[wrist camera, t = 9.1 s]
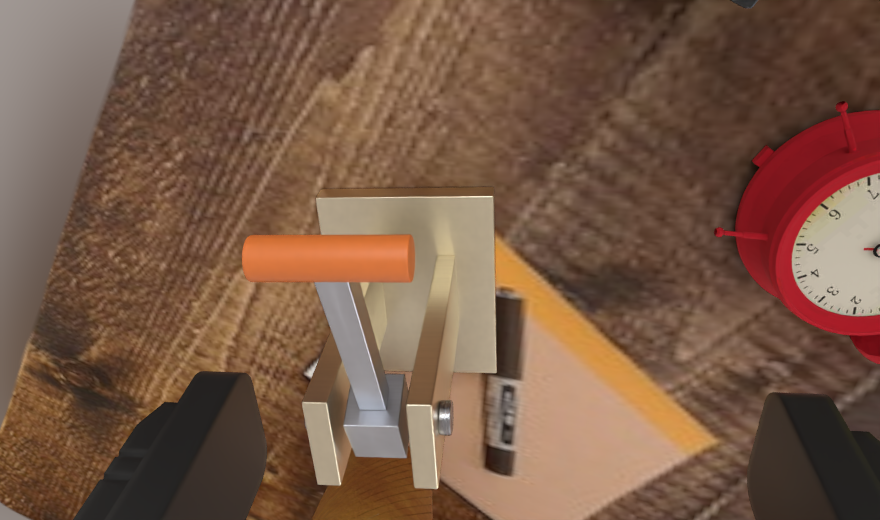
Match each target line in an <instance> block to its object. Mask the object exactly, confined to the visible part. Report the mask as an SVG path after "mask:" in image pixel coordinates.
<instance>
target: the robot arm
mask: <svg viewBox="0 0 880 520" xmlns="http://www.w3.org/2000/svg"><path fill="white" fill-rule="evenodd" d="M266 459H267V445H266V438H265V434H264V430H263V425H262V421H261V417H260V413H259V408H258V404H257V400H256V396H255V391H254V387H253V383H252V380H251V378H250V376H249V375H248V374H247V373H238V372H209V371H202V372H199V373H197V374H196V375H195V376H194V378H193V379H192V381H191V382H190V384H189V386H188V387H187V389H186V390H185V392H184V394H183V395H182V397H181V398H180V400H179V402H178V403H173V402H164V403H163V404H162V405H161V406H160V407H158V408H157V409H156V410H155V411H153V412H152V413H151V414H150V415H148V416H147V417H146V418H145V419H144V420H142V421H141V422H140V423H139V424H137V426H136V427H135V429H134V430H133V432H132V433H131V435H130V436H129V437H128V439H127V440H126V442H125V443H124V445H123V446H122V448H121V449H120V451H119V456H118V457H115V458H114V460H113V461H112V463H111V464H110V466H109V467H108V469H107V470H106V472H105V473H104V479H103V480H100V481H99V482H98V484H97V485H96V487H95V488H94V489H93V491H92V492H91V494H90V495H89V497H88V498H87V500H86V501H85V503H84V504H83V506H82V507H81V509H80V510H79V512H78V513H77V515H76V516H75V518H74V519H73V520H246V518H247V515H248V513H249V510H250V508H251V506H252V503H253V501H254V498H255V496H256V494H257V491H258V489H259V486H260V484H261V481H262V479H263V475H264V471H265V466H266ZM747 484H748V494H749V500H750V504H751V507H752V510H753V513H754V516H755V519H756V520H880V441H879V440H877V439H876V438H875V437H874V436H873V435H872V434H870V433H869V432H862V431H850V430H849V428H848V426H847V424H846V423H845V421H844V419H843V417H842V416H841V414H840V412H839V411H838V409H837V407H836V405H835V404H834V402H833V400H832V399H831V398H830V397H829V396H827V395H825V394H806V393H777V392H773V393H770V394H769V395H768V396H767V398H766V400H765V403H764V406H763V410H762V414H761V418H760V422H759V426H758V429H757V433H756V437H755V441H754V445H753V449H752V452H751V456H750V460H749V464H748V472H747Z"/></svg>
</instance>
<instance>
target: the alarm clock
mask: <svg viewBox="0 0 880 520" xmlns="http://www.w3.org/2000/svg"><path fill="white" fill-rule="evenodd" d="M835 108H836V110H837V111H838V112H840V113H841V116H837V117H834V118H831V119H828V120H825V121H823V122H820V123H818V124H816V125H814V126H812V127H810V128H808V129H806V130H804V131H802V132H801V133H799V134H797V135H796V136H794V137H793V138H791V139H790V140H788V141H787V142H785V143H784V144H783V145H782V146H780V147H779V148H778V149H777V150H776V151H775V152H774V151H773V150H771V149H770V148H769V147H768V146H767V145H766V146H765V147H764V148H763V149H762V150H761V151H760V152H759V153H758V154H757V156H756V157H755V158H754V159H753V160H752V162H753V163H754V164H756V165H757V166H758V167H760V168H759V169H758V170H757V172H756V173H755V174H754V176H753V178H752V179H751V181H750V182H749V184H748V186H747V188H746V190H745V192H744V194H743V196H742V199H741V202H740V205H739V208H738V212H737V218H736V224H735V232H734V231H725V230H723V228H720V227H718V228H716V229H715V231H714V234H715V236H717V237H721V236H722V235H729V236H736V243H737V248H738V252H739V254H740V257H741V260H742V262H743V263H744V265H745V267H746V269H747V270H748V272H749V273H750V275H751V276H752V278H753V279H754V280H755V281H756V282H757V283H758V284H759V285H760V286H761V287H762V288H763V289H765V290H766V291H767V292H769V293H770V294H772V295H773V296H775V297H777V298H779V299H780V300H781V301H782V303H783V304H784V305H785V306H786V307H787V308H788V309H789V310H790V311H791V312H792V313H794V314H795V315H796V316H798V317H799V318H801V319H802V320H804V321H806V322H808V323H809V324H811V325H813V326H815V327H818V328H820V329H823V330H826V331H829V332H833V333H838V334H844V335H849V336H850V338H851V340H852V342H853V343H854V345H855V347H856V348H857V349H858V351H859V352H860V353H861V354H862V355H863V356H864V357H866V358H867V359H869V360H870V361H873V362H875V363H877V364H880V110H872V111H861V112H854V113H849V114H847V113H846V109H848V103H846V102H845V101H842V102H839V103H837V105H836V107H835Z"/></svg>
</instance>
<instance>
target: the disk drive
mask: <svg viewBox="0 0 880 520" xmlns="http://www.w3.org/2000/svg"><path fill="white" fill-rule="evenodd" d="M731 1H732V2H734V3H736V4H737V5H739V6H742V7H743V8H748V9H749V8H752V7H753V6H754V5H755V3H756V2H757V1H758V0H731Z"/></svg>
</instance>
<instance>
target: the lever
mask: <svg viewBox="0 0 880 520" xmlns="http://www.w3.org/2000/svg"><path fill="white" fill-rule="evenodd" d="M242 266H243V271H244V274H245V277H246V278H247V280H248V281H250V282H314V284H315V286H316V289H317V292H318V295H319V298H320V300H321V303H322V306H323V309H324V312H325V314H326V317H327V320H328V323H329V326H330V329H331V331H332V334H333V337H334V340H335V343H336V345H337V348H338V351H339V354H340V357H341V359H342V362H343V365H344V368H345V371H346V373H347V376H348V379H349V382H350V389H349V394H348V400H347V406H346V411H345V417H344V423H343V427H344V429H345V432H346V434H347V437H348V439H349V442H350V444H351V447H352V449H353V451H354V454H355V456H356V457H383V458H407V453H408V444H409V432H408V422H407V412H406V402H407V397H408V392H409V391H408V387H407V382H406V378H405V375H404V374H385V372H384V368H383V365H382V361H381V357H380V354H379V350H378V346H377V343H376V339H375V336H374V332H373V328H372V325H371V321H370V317H369V314H368V310H367V307H366V303H365V299H364V296H363V292H362V288H361V285H360V282H381V283H410V282H412V281H413V277H414V271H415V246H414V240H413V237H412V235H410V234H395V235H250V236H248V237H247V239H246V240H245V243H244V246H243V251H242Z"/></svg>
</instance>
